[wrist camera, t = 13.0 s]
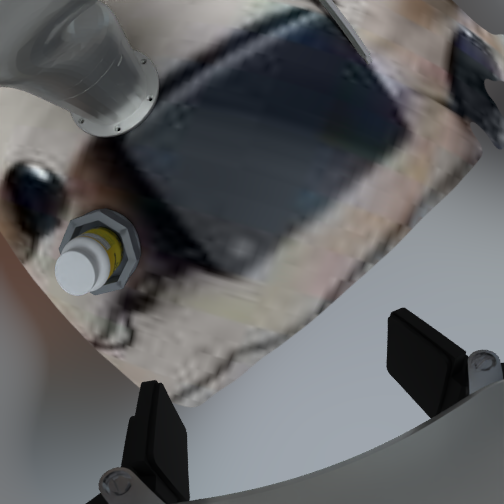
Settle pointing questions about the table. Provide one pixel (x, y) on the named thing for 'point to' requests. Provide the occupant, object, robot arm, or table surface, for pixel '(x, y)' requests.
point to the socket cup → (125, 232)
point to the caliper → (347, 29)
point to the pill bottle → (89, 260)
